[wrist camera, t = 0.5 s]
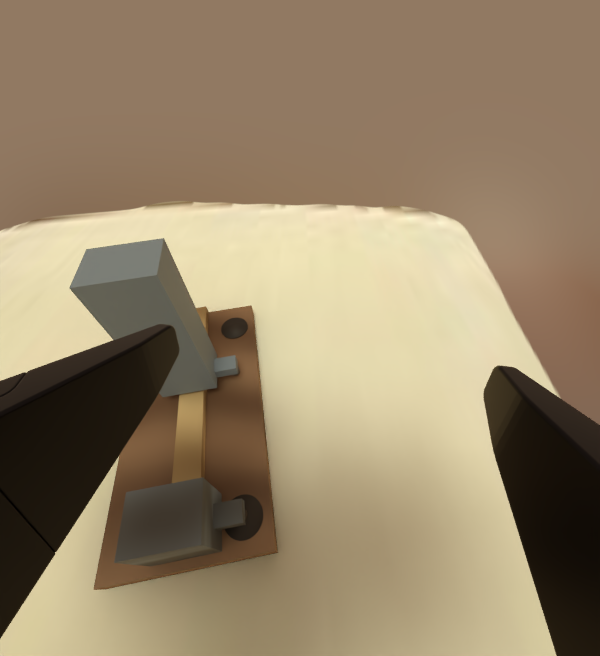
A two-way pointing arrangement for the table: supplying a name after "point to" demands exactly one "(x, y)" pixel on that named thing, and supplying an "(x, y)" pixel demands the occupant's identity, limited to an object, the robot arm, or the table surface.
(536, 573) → the robot arm
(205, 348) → the block
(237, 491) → the hole plate
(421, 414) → the table surface
